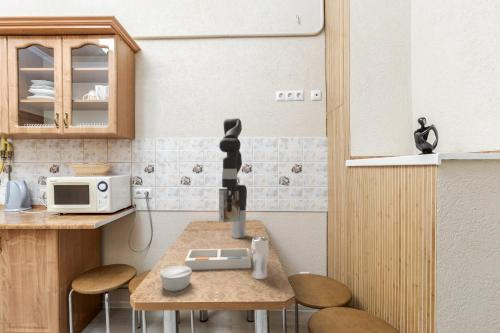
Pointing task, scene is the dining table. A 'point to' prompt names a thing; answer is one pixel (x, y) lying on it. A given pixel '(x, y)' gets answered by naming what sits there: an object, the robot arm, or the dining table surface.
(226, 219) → the coffee box
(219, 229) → the dining table surface
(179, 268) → the ramekin
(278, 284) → the dining table surface
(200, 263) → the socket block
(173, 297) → the dining table surface
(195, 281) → the dining table surface
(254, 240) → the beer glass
